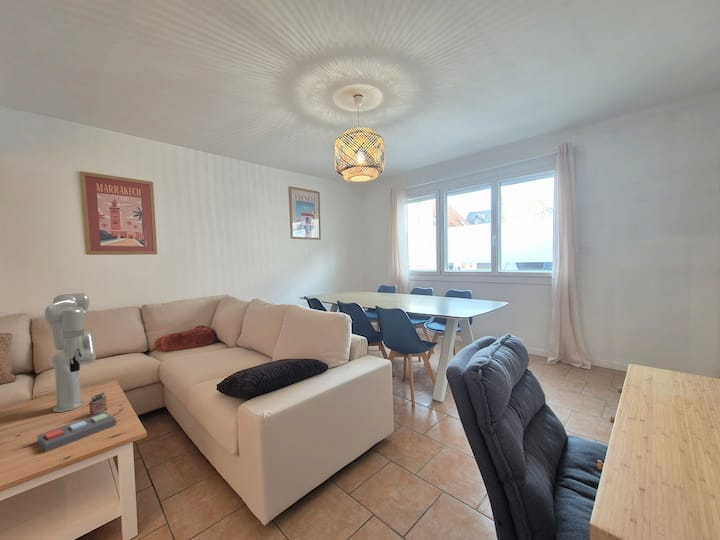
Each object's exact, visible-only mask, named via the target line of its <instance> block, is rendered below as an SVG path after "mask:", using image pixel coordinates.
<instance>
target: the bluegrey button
mask: <svg viewBox="0 0 720 540" xmlns="http://www.w3.org/2000/svg"><path fill="white" fill-rule="evenodd" d="M86 426H87V423H86V422H85V421H81V422H78V423H75V424H72V425H70V426H69V429H70V430H71V431H75V430H77V429H80V428H83V427H86Z"/></svg>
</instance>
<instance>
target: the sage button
mask: <svg viewBox="0 0 720 540" xmlns="http://www.w3.org/2000/svg"><path fill="white" fill-rule="evenodd" d="M105 419H108V415H106V414H105V413H104V414H101V415H98V416H95V417H92V421H93V422H94V423H97V422H99V421H102V420H105Z"/></svg>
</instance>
